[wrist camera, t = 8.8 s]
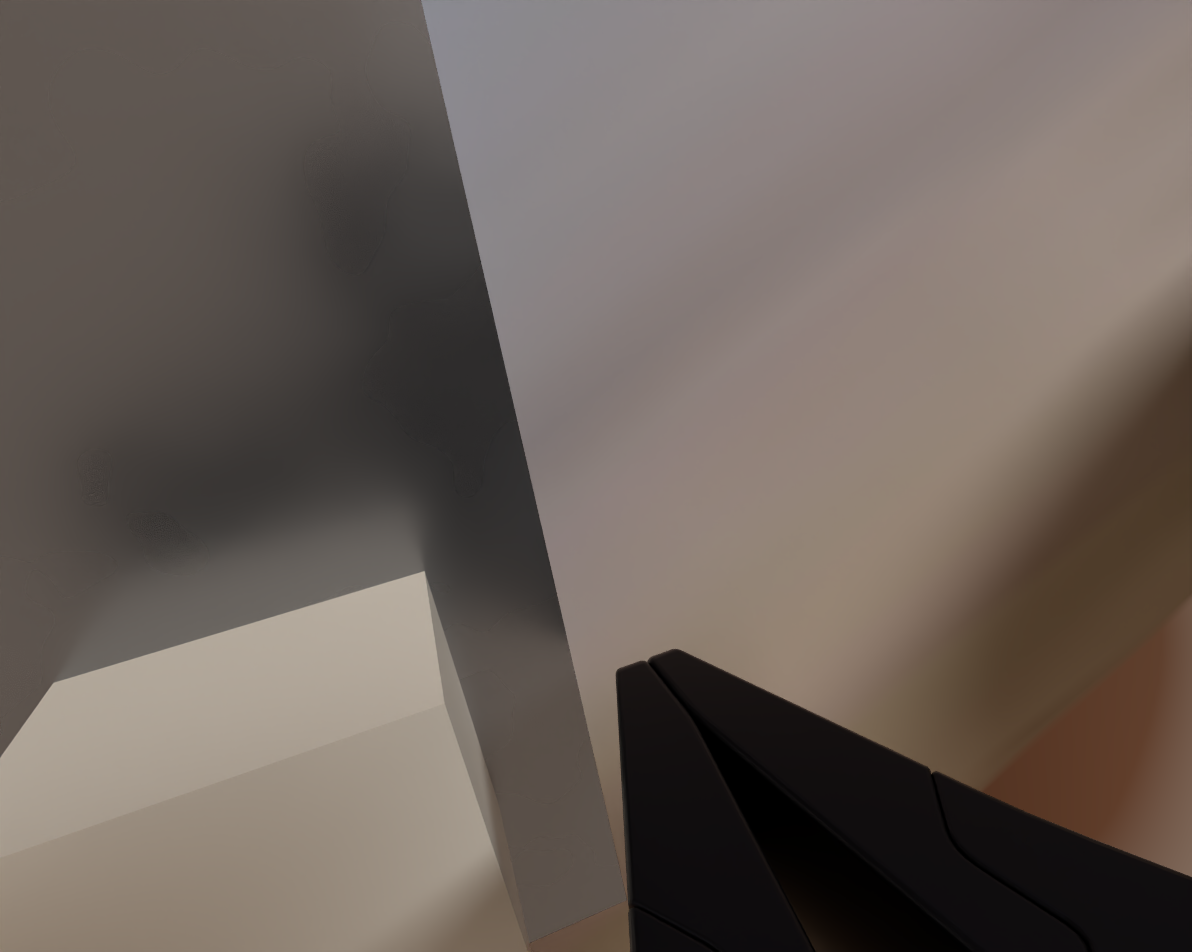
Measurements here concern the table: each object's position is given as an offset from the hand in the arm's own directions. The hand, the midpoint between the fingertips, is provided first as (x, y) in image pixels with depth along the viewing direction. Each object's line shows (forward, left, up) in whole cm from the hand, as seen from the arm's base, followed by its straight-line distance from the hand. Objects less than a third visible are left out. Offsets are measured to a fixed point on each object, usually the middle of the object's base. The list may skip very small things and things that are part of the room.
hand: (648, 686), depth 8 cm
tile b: (+4, 0, -1) cm, 4 cm away
